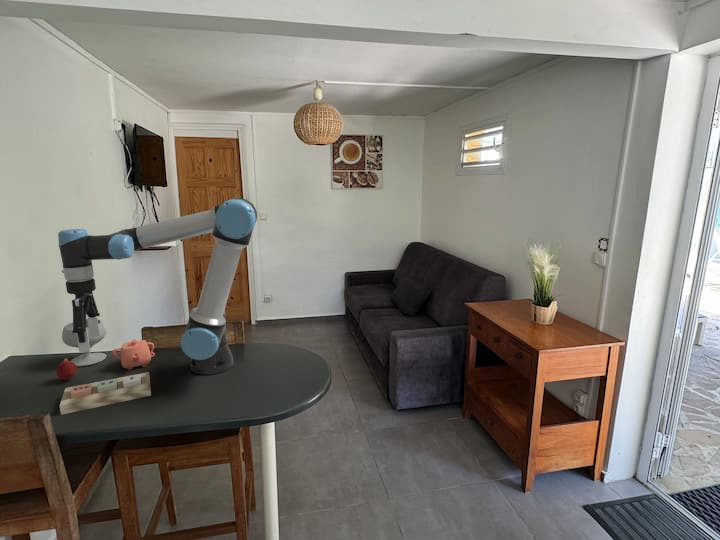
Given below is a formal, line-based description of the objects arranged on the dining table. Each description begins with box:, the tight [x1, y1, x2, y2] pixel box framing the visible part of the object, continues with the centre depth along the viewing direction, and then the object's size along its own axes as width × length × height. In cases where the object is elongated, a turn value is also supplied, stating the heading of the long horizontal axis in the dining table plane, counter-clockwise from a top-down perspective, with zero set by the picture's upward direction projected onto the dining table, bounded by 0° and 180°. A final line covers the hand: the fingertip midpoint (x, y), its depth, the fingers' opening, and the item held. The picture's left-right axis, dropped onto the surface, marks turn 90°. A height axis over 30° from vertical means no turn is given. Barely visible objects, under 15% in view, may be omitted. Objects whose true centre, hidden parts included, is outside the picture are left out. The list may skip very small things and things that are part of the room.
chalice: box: [61, 318, 107, 367], centre depth 157 cm, size 14×14×15 cm
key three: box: [71, 382, 93, 399], centre depth 129 cm, size 5×5×3 cm
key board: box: [59, 371, 152, 416], centre depth 132 cm, size 24×12×3 cm, turn 118°
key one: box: [122, 373, 142, 388], centre depth 135 cm, size 5×5×3 cm
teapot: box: [111, 339, 156, 371], centre depth 154 cm, size 12×12×10 cm
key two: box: [97, 377, 118, 393], centre depth 132 cm, size 5×5×3 cm
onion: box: [56, 357, 78, 381], centre depth 142 cm, size 6×6×8 cm
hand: (90, 343), depth 131 cm, fingers open, 13 cm apart
